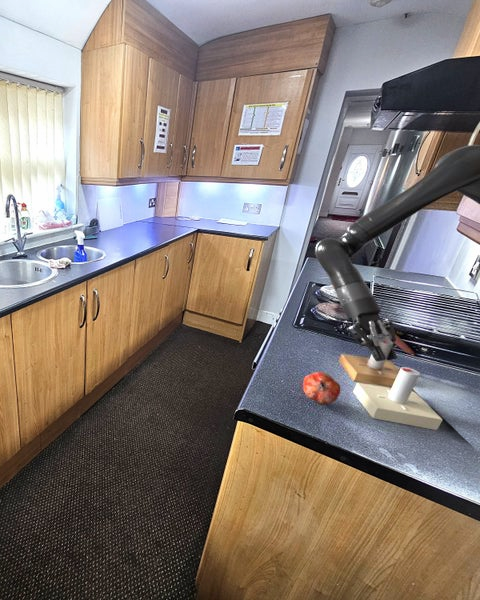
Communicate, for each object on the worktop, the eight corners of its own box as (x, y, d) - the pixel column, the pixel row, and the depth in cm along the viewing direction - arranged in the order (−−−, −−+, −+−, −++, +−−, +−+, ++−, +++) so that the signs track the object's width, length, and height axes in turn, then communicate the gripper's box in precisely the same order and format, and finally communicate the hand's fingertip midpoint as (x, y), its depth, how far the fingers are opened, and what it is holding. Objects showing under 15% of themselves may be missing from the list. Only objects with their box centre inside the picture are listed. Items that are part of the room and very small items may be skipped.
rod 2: (401, 396, 78) (415, 367, 75) (409, 405, 75) (424, 375, 72) (384, 393, 79) (398, 364, 76) (392, 402, 76) (406, 372, 73)
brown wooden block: (386, 370, 94) (390, 360, 92) (407, 391, 85) (412, 381, 84) (338, 362, 97) (341, 353, 96) (353, 382, 88) (357, 372, 87)
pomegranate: (299, 393, 87) (292, 386, 80) (316, 370, 86) (310, 362, 79) (330, 412, 81) (325, 407, 74) (348, 388, 80) (345, 381, 74)
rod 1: (368, 362, 92) (379, 336, 89) (383, 367, 90) (395, 340, 86) (365, 366, 90) (376, 339, 87) (380, 371, 88) (392, 344, 84)
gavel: (439, 356, 95) (398, 351, 98) (432, 368, 97) (391, 363, 100) (399, 320, 113) (365, 316, 115) (394, 331, 115) (360, 327, 117)
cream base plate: (409, 401, 81) (415, 391, 80) (437, 430, 72) (443, 419, 71) (352, 391, 84) (357, 381, 83) (372, 418, 75) (377, 407, 74)
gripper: (349, 297, 88) (380, 359, 82) (389, 293, 91) (422, 354, 85) (325, 307, 95) (352, 366, 88) (363, 304, 98) (392, 360, 91)
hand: (386, 359), depth 87 cm, fingers closed on rod 1, 3 cm apart
